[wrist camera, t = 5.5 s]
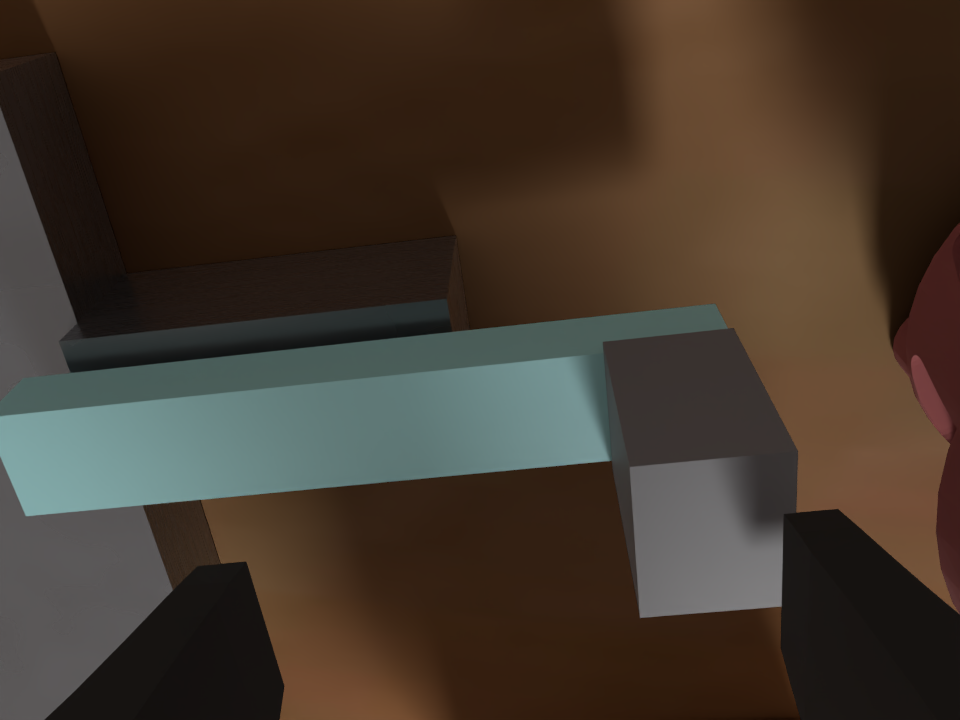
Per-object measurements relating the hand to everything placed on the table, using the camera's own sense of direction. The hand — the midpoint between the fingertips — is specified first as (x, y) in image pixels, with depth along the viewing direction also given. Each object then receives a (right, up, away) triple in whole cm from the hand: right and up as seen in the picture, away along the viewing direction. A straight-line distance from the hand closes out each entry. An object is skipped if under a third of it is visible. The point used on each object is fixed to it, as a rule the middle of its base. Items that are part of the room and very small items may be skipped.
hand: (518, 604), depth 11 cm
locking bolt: (-2, +2, +5) cm, 6 cm away
